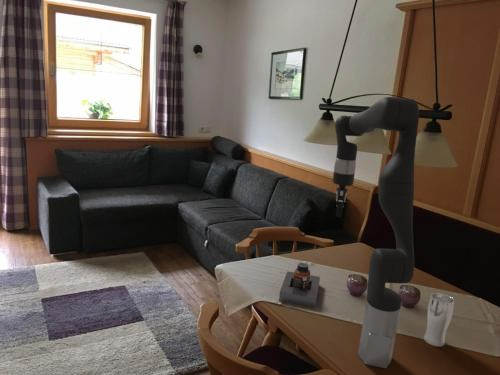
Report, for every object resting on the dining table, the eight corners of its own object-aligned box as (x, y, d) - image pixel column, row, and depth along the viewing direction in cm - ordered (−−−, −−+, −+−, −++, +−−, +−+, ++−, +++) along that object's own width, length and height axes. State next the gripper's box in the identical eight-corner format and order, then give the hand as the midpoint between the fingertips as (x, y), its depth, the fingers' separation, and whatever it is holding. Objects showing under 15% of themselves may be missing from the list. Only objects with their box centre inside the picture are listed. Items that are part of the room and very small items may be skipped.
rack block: (315, 307, 143) (316, 298, 143) (278, 300, 146) (279, 291, 145) (319, 285, 160) (320, 276, 160) (286, 279, 163) (287, 271, 162)
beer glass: (444, 350, 124) (453, 306, 121) (420, 342, 128) (428, 298, 124) (447, 339, 130) (456, 297, 126) (424, 331, 133) (432, 290, 130)
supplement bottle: (307, 297, 150) (310, 269, 147) (291, 295, 151) (294, 266, 148) (308, 290, 156) (311, 262, 153) (293, 287, 157) (295, 260, 154)
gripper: (355, 176, 141) (348, 220, 145) (354, 169, 155) (349, 209, 159) (333, 173, 143) (327, 217, 147) (334, 166, 156) (329, 207, 160)
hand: (338, 213), depth 153 cm, fingers open, 8 cm apart
